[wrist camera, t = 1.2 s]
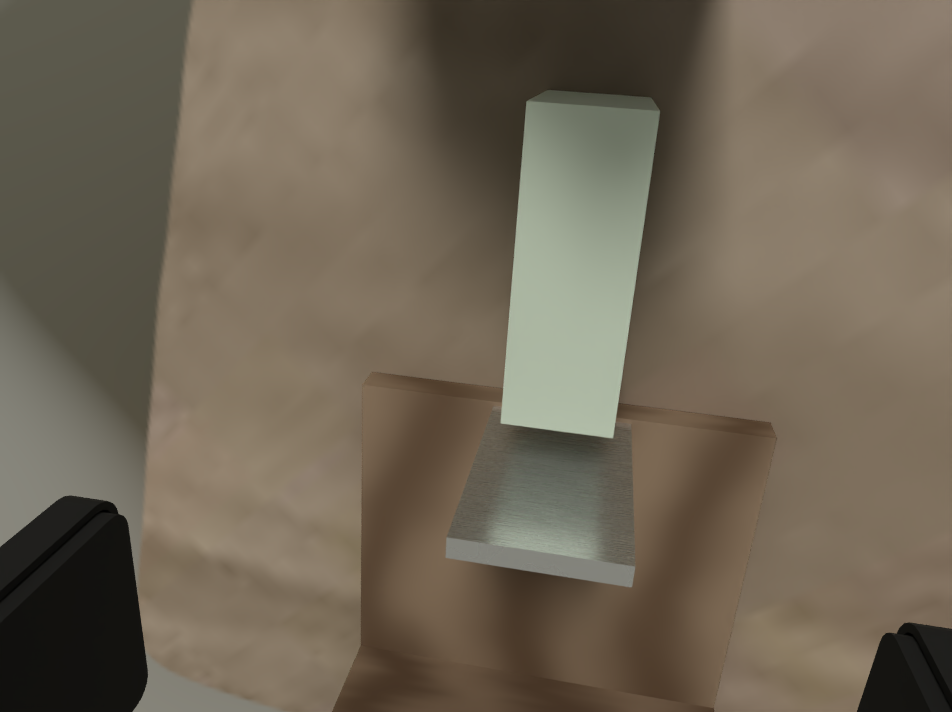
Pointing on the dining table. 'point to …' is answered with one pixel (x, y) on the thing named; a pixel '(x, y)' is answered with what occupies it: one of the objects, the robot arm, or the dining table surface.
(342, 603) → the dining table surface
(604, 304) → the book
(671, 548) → the shelf
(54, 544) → the robot arm
